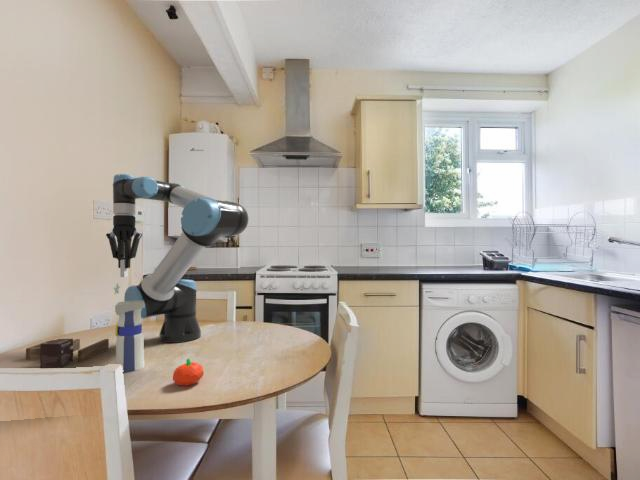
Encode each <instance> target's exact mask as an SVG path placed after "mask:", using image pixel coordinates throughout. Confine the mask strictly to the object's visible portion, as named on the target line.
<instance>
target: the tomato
mask: <svg viewBox="0 0 640 480" xmlns="http://www.w3.org/2000/svg"><path fill="white" fill-rule="evenodd" d="M203 376H204V369H203V366H202V365H201V364H200V363H198V362H194V361H193V362H191V359H190V358H187V359H186V363H184V364H181V365H180V366H178V367H175V370H174V371H173V374H172V381H173V382H174V383H175V384H176V385H178V386H191V385H194V384H196V383H197V382H199V381H200V380H201V379H202V378H203Z"/></svg>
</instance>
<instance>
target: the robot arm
mask: <svg viewBox="0 0 640 480" xmlns="http://www.w3.org/2000/svg"><path fill="white" fill-rule="evenodd" d="M112 199H113V200H112V201H113V202H112V203H113V204H112V214H113V217H112V225H113V228H112V230H111V231H110V232H109V233H106V234H105V236H106V237H107V239H108V241H109V246H110V250H111V254H112V258H113V259H116V260H117V261H118V262H117V263H118V264H117V267H118V269H120V272H119V274H120V278H129V269H130V268H131V260H132V259H134V258H136V256H137V253H138V252H137V251H138V249H139V245H140V244H139V243H140V240H141V239H142V237H143V233H140V232H138V231H137V228H136V216H135V215H136V199H137V200H138V199H143V200H144V199H145V200H152V201H162V202H167V203H169V204H173V205H175V206H177V207H180V208H183V209H182V211H181V215H182V217H180V223H181V227H180V228H181V232H182V233H181V234H180V235H179V236H178V238H177V239H176V241H175V242H174V243H173V245H172V246H171V247H170V249H169V250H168V251H167V253H166V254H165V256H164V257H163V259H162V260H161V261H160V263H158V265H157V267H156V268H155V269H154V271H152V274H147V275H145V276H144V277H143V278H142V279H141V280H140V282H139V284H137V285H134V284H133V285H131V286H128V287H127V288H126V290H125V292H124V296H123V297H124V298H123V299H124V301H144V303H145V307H144V308H142V310H141V318H142V319H146V318H152V317H156V316H160V315H161V316H162V315H164V316H163V317H164V319H163V322H162V325H161V328H160V331H159V334H158V335H159V341H160V342H162V343H182V342H189V341H194V340H196V339H199V338H200V337H202V336H201V335H202V334H201V333H202V331H201V326H200V324H199V321H198V318H197V291H198V289H197V284H196V281H195V280H193V279H182V278H183V276H184V275H185V274H186V273H187V271H189V269H190V268H191V266H193V264H194V262H196V260H197V258H198V257H199V256H200V255H201V253H202V252H203V251H204V249H205V248H211V247H213V245H214V244H215V243H216V242H217V241H218V239H219V238H220V237H235V236H238V235H240V234H242V233H243V232H244V231H245V230H246V228H248V227H247V226H248V224H249V214H248V211H247V210H246V208H245V207H244V206H243V205H241V204H239V203H237V202H234V201H229V200H220V199H219V200H218V199H215V198H214V197H210V196H207V195H205V194H202V193H199V192H197V191H194V190H191V189H188V188H186V187H185V186H184V185H182V184H179V183H174V182H173V183H172V182H165V181H161V180H156V179H154V178H153V177H150V176H139V177H135V175H132V174H126V173H117V174H115V175H114V176H113V183H112ZM132 238H133V239H132ZM124 301H123V302H124Z"/></svg>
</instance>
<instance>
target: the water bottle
mask: <svg viewBox="0 0 640 480" xmlns="http://www.w3.org/2000/svg"><path fill="white" fill-rule="evenodd" d="M120 288H121V286H119V284H118V283H117V282H116V285H115V287H113V289H114V295H117V294H119V293H120V291H119V290H120ZM144 307H145V303H144V301H119V302H117V303H116V304H115V305H114V312H115V313H116V316H119V317H118V320H117V322H116V325H115V336H116V341H115V364H121V365H122V366H123V370H124V372H123V373H131V372H135V371H140V370H142V369H144V368H145V352H144V350H145V348H144V347H145V346H144V343H145V342H144V339H145V338H144V333H143V330H142V326H143V323H144V319H143V318H141V310H142V308H144Z"/></svg>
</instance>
